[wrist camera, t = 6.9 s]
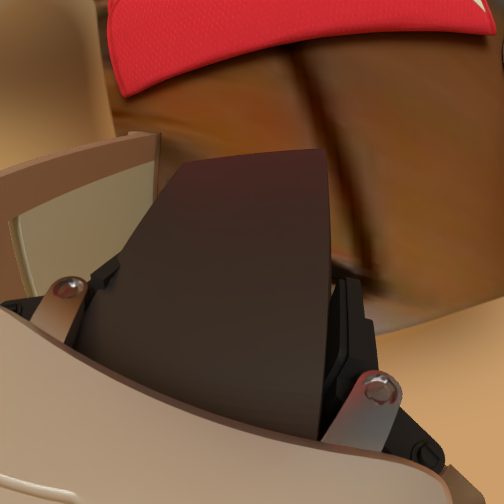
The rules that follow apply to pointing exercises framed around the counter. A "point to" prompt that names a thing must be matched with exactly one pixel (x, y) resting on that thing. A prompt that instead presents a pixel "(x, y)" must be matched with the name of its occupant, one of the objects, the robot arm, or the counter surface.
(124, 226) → the tan picture frame
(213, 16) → the dish drying mat
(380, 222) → the counter surface
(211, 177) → the phone stand
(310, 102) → the counter surface
